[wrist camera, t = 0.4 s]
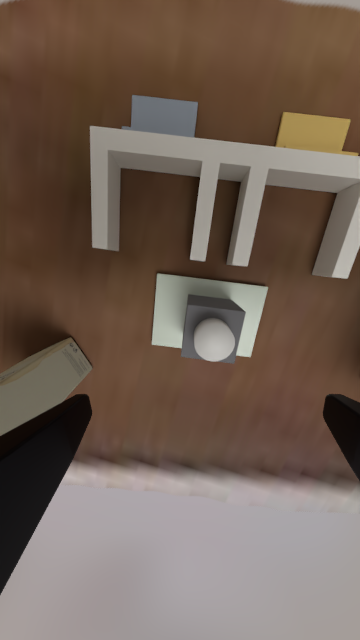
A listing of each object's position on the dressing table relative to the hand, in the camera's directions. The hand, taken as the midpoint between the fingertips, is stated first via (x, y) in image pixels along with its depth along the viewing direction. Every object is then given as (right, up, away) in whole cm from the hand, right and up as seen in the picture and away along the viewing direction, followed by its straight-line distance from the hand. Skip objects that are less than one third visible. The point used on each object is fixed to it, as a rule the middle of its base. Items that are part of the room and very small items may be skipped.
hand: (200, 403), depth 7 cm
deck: (+2, +4, +11) cm, 12 cm away
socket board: (+3, +13, +8) cm, 15 cm away
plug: (+2, +3, +11) cm, 11 cm away
